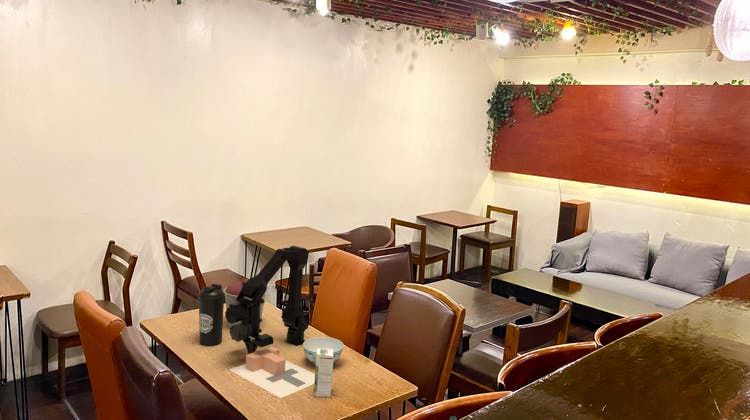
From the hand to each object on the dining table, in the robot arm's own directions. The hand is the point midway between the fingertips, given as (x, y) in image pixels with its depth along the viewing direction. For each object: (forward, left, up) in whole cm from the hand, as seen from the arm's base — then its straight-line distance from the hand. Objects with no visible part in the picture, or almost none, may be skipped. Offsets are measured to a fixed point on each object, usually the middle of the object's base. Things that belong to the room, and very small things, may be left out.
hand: (250, 356), depth 209 cm
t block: (0, +11, -1) cm, 11 cm away
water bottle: (+1, -24, -2) cm, 24 cm away
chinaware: (-18, +20, -2) cm, 27 cm away
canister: (-19, -29, -2) cm, 35 cm away
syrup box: (-2, +36, -2) cm, 36 cm away
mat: (+1, +16, -2) cm, 16 cm away
